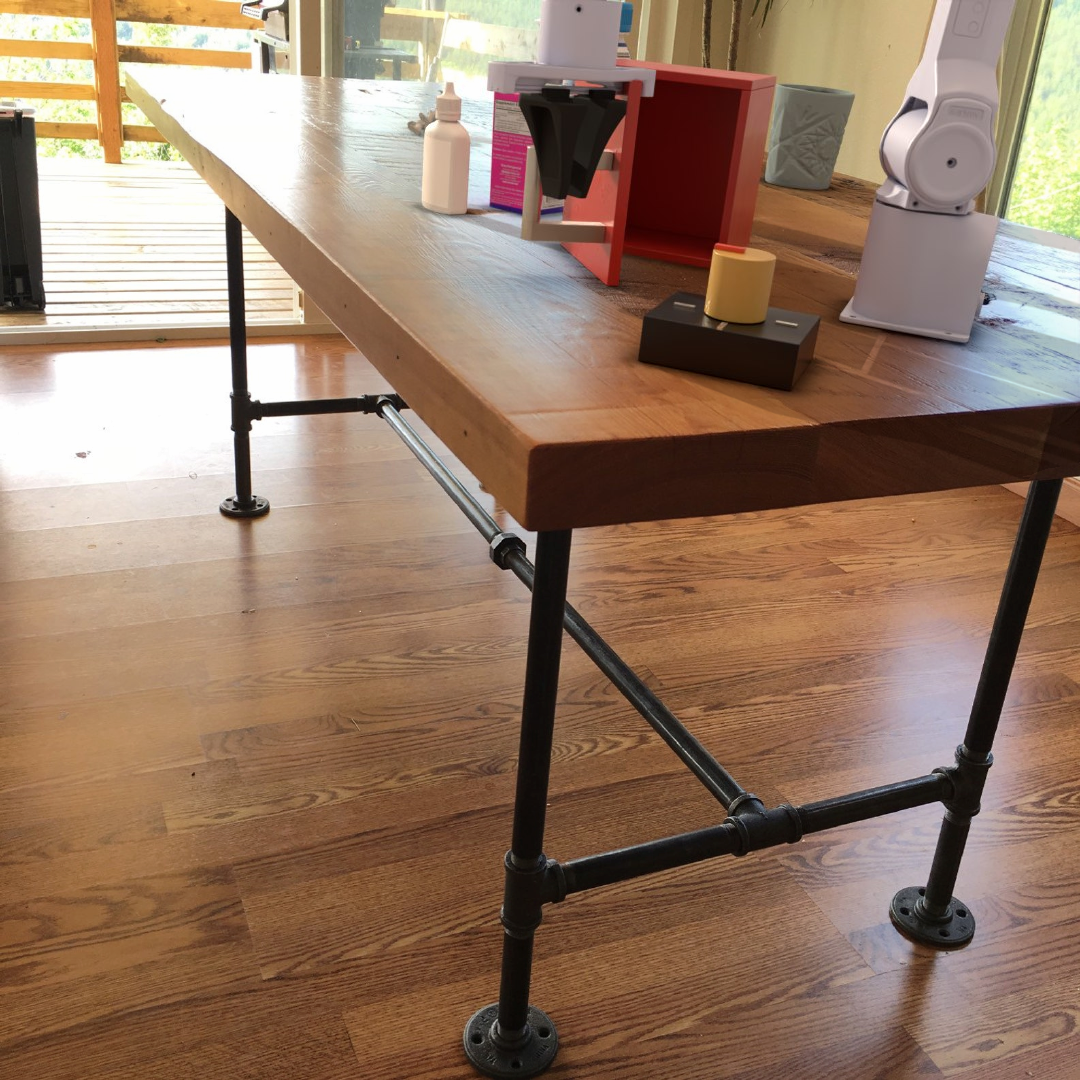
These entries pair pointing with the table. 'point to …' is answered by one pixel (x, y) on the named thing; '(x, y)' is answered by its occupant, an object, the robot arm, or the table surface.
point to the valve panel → (729, 342)
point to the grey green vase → (806, 135)
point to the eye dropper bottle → (446, 158)
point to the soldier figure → (423, 121)
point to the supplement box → (512, 158)
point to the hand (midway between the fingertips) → (564, 196)
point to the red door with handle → (591, 200)
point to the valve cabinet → (696, 161)
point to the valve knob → (739, 284)
